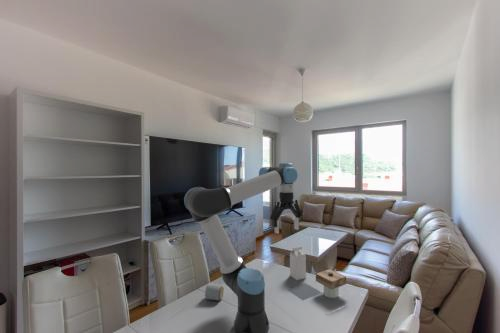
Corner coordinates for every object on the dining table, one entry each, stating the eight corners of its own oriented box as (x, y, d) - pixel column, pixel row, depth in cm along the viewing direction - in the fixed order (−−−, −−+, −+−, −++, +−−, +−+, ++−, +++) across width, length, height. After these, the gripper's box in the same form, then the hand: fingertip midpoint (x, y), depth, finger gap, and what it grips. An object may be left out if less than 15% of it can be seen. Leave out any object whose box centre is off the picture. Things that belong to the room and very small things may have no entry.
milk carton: (290, 276, 153) (289, 246, 153) (299, 274, 156) (298, 244, 156) (296, 281, 146) (296, 249, 146) (306, 278, 149) (305, 248, 149)
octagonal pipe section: (331, 300, 125) (331, 287, 125) (320, 293, 131) (320, 281, 131) (341, 296, 129) (341, 283, 129) (330, 290, 135) (330, 278, 135)
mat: (302, 301, 124) (302, 300, 124) (286, 290, 135) (286, 289, 135) (322, 293, 131) (322, 292, 131) (305, 283, 143) (305, 282, 143)
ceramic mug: (220, 303, 123) (220, 288, 123) (204, 302, 125) (204, 287, 125) (225, 293, 134) (225, 279, 134) (211, 291, 135) (211, 278, 135)
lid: (331, 289, 122) (331, 279, 122) (315, 280, 132) (315, 271, 132) (346, 284, 128) (346, 274, 128) (329, 276, 137) (329, 267, 137)
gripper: (271, 193, 121) (272, 236, 120) (308, 190, 133) (308, 229, 133) (263, 192, 127) (263, 232, 127) (299, 189, 140) (299, 226, 140)
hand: (286, 231), depth 130 cm, fingers open, 13 cm apart
